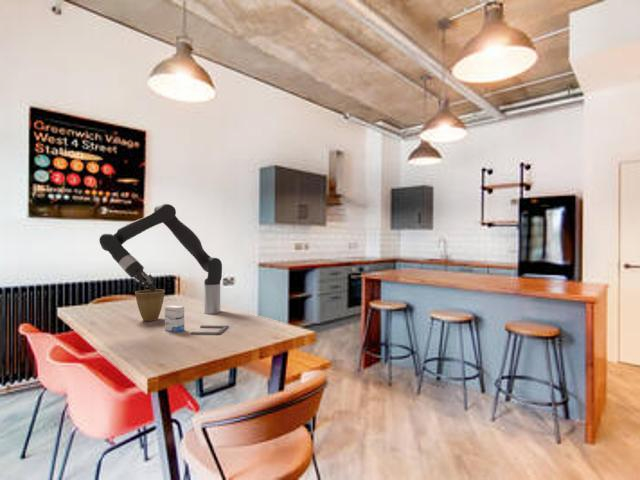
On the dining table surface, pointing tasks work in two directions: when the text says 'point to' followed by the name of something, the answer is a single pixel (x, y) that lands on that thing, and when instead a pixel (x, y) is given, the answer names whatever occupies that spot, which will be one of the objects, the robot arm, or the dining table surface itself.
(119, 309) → the dining table surface
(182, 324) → the ink box
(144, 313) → the plant pot
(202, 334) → the frame
